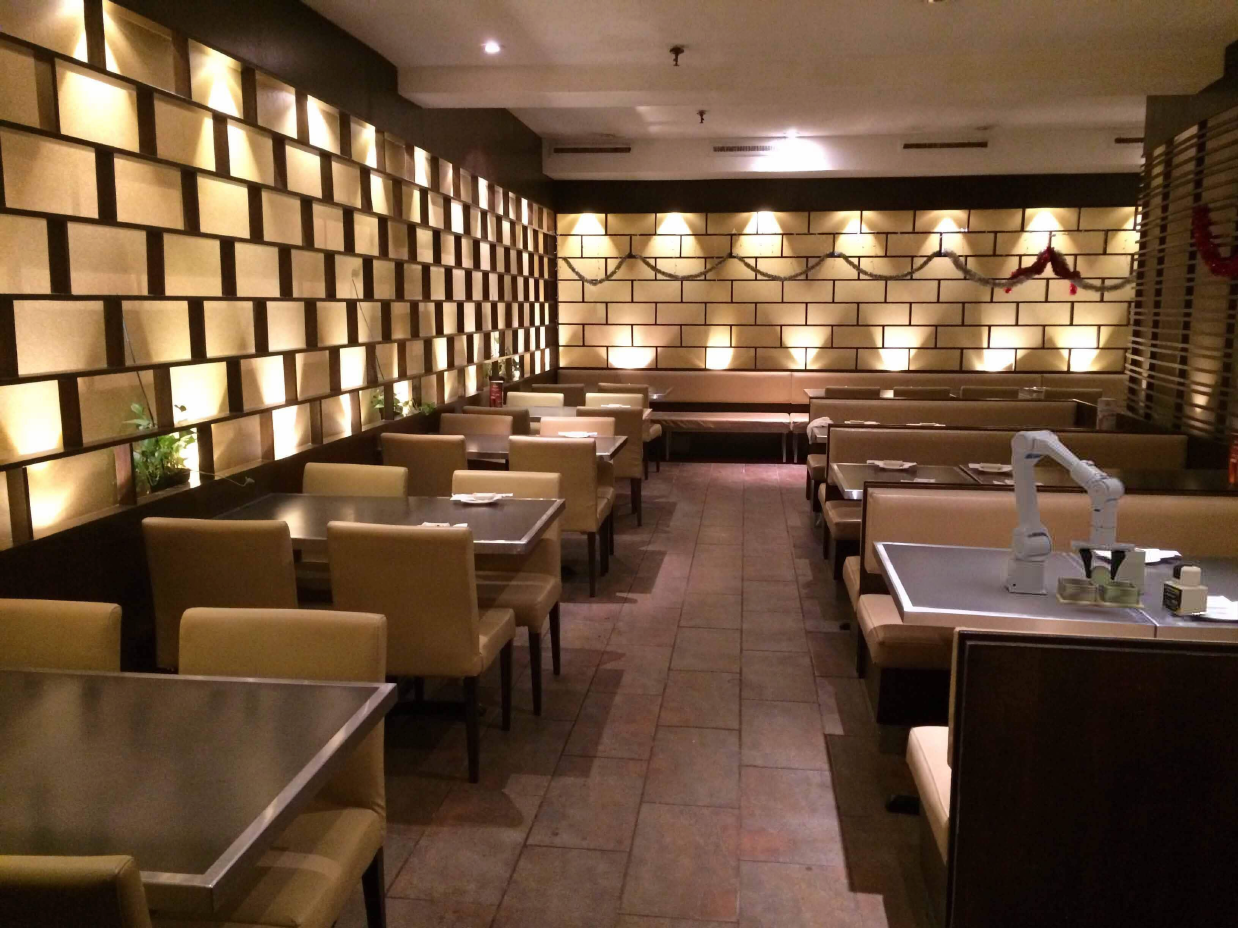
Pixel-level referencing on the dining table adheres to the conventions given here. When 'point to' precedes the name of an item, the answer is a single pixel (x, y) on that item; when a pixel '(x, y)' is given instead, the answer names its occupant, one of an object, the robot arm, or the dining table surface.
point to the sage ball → (1100, 575)
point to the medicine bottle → (1185, 591)
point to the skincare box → (1133, 568)
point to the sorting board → (1108, 594)
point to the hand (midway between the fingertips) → (1100, 578)
